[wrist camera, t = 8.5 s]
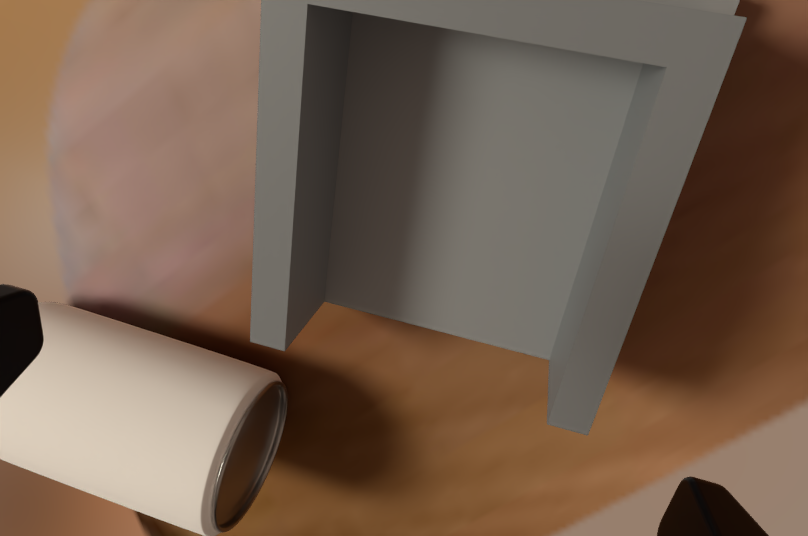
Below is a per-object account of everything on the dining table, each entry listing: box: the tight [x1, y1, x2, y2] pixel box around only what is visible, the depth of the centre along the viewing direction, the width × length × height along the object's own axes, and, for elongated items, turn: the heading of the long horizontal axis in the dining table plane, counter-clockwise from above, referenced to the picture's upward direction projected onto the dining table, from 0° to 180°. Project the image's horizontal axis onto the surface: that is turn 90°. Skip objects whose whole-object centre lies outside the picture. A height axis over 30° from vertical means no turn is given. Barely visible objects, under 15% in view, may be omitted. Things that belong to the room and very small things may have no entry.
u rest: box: [250, 0, 747, 435], centre depth 17 cm, size 12×12×4 cm
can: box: [0, 302, 288, 536], centre depth 23 cm, size 6×6×12 cm
